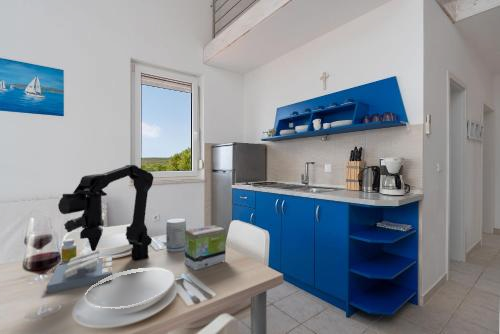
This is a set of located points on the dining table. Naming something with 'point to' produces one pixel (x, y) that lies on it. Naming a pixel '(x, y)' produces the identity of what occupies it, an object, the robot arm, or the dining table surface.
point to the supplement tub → (175, 235)
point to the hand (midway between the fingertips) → (93, 250)
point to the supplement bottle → (68, 250)
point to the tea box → (205, 246)
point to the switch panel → (79, 276)
